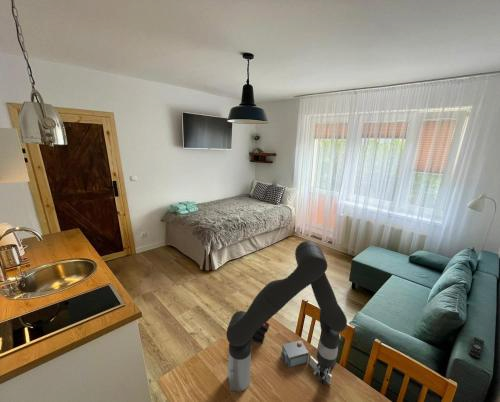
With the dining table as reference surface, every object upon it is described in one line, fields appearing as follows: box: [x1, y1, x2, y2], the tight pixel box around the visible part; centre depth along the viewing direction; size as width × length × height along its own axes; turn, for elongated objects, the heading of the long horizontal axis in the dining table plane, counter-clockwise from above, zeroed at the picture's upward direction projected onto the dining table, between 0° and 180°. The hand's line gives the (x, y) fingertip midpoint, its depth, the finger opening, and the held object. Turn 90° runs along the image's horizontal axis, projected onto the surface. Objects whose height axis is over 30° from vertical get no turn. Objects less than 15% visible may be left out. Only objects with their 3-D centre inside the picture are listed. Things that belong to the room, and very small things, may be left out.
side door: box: [307, 354, 333, 385], centre depth 100 cm, size 12×1×5 cm, turn 36°
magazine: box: [252, 322, 270, 345], centre depth 116 cm, size 4×13×15 cm, turn 70°
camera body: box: [280, 339, 309, 368], centre depth 106 cm, size 12×7×7 cm, turn 106°
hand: (322, 382), depth 96 cm, fingers closed
